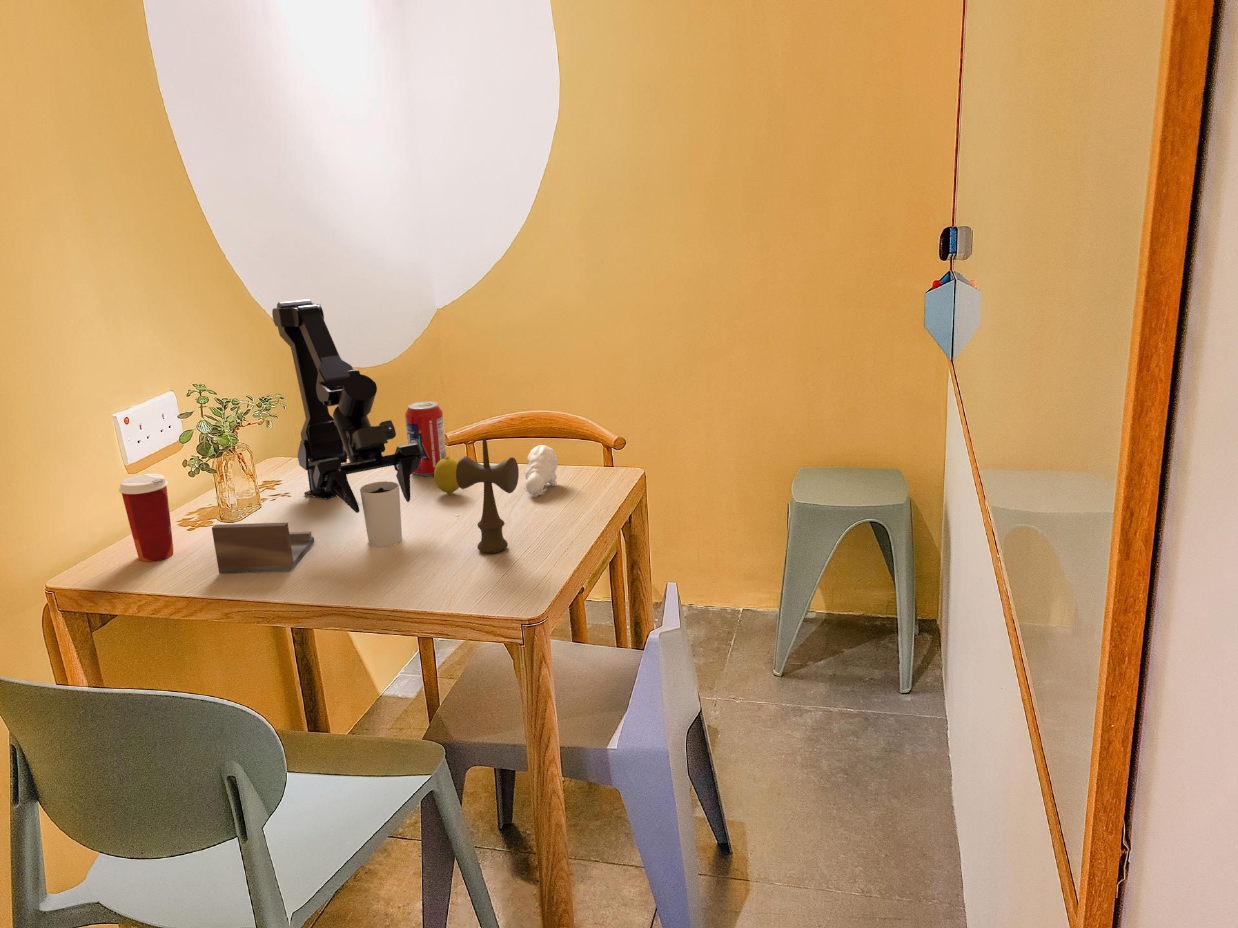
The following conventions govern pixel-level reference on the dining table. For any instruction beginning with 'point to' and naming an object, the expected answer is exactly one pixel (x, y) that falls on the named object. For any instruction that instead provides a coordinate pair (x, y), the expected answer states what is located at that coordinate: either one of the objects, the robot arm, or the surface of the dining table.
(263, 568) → the holder
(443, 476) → the lemon
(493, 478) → the kendama
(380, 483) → the white cup
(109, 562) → the dining table surface
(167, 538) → the paper cup
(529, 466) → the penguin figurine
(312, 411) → the robot arm
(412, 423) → the soda can
